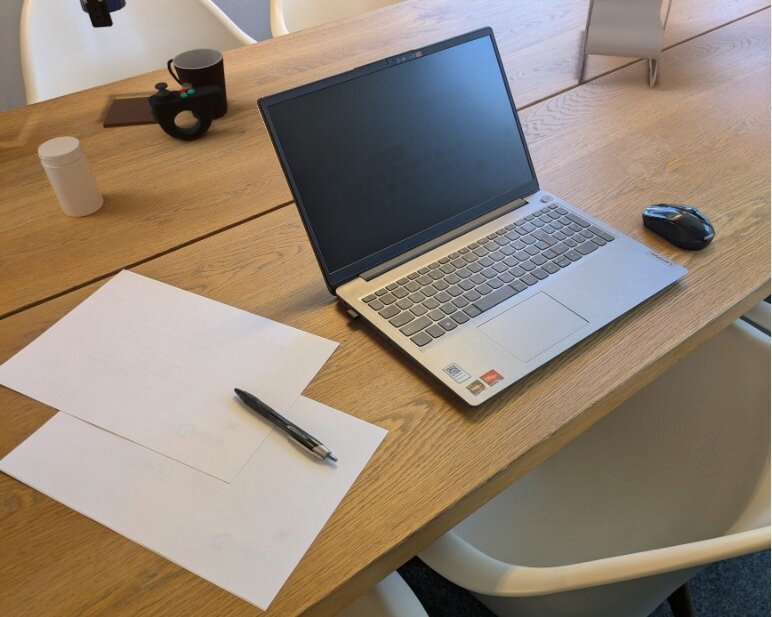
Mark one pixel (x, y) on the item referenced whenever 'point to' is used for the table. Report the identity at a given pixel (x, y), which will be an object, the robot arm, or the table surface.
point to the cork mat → (129, 112)
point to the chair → (625, 30)
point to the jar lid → (114, 3)
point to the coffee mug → (201, 73)
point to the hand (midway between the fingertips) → (107, 17)
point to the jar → (71, 176)
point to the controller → (185, 108)
